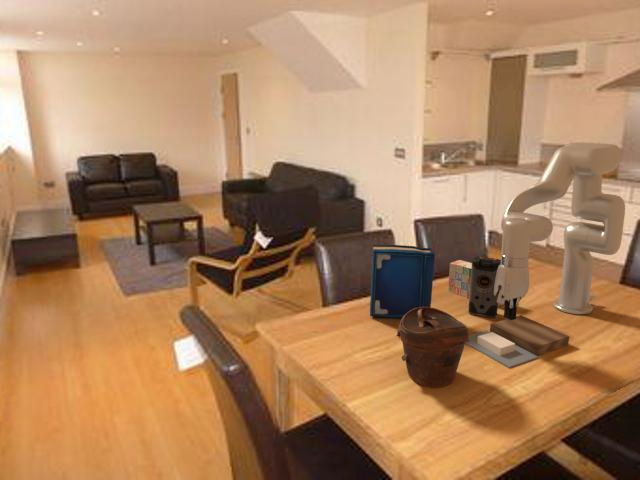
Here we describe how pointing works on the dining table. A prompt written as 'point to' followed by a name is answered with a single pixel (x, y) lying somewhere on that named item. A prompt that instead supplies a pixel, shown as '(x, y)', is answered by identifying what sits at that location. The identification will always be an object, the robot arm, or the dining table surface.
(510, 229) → the robot arm
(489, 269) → the electronic device
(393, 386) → the dining table surface
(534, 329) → the plate
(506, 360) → the mat
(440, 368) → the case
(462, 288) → the stack of blocks
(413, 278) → the book
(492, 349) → the tile
